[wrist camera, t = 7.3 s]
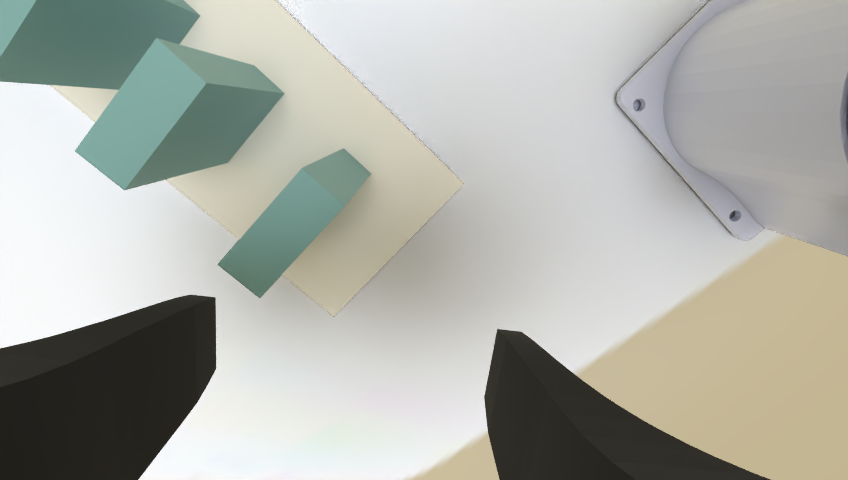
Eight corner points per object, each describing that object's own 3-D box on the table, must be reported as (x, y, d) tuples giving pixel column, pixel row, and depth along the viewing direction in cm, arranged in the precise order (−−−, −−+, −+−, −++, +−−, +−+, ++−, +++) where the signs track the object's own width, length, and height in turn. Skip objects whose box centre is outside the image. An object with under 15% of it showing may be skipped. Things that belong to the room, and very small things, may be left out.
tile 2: (284, 93, 18) (206, 82, 12) (227, 162, 19) (124, 190, 13) (254, 65, 18) (156, 38, 11) (197, 137, 19) (74, 151, 12)
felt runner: (463, 182, 20) (464, 184, 20) (334, 314, 22) (333, 317, 21) (-84, -348, 15) (-94, -357, 14) (-193, -118, 17) (-204, -122, 16)
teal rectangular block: (200, 15, 18) (64, -44, 11) (144, 91, 18) (-15, 80, 12) (166, -16, 17) (5, -96, 11) (111, 63, 18) (-72, 35, 11)
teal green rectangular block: (371, 173, 19) (344, 206, 13) (313, 236, 20) (259, 298, 14) (343, 148, 19) (302, 167, 12) (286, 212, 20) (217, 264, 13)
